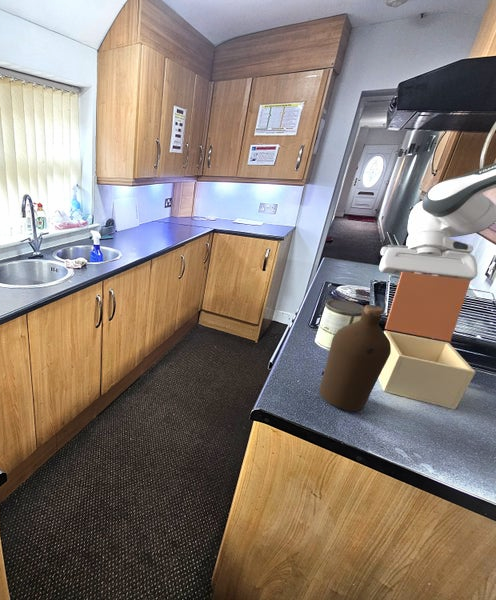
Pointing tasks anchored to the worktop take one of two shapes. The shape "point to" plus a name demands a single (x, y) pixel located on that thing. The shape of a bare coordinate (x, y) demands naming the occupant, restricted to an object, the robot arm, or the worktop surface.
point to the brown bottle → (355, 361)
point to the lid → (427, 305)
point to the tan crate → (425, 370)
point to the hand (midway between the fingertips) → (423, 289)
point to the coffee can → (336, 319)
